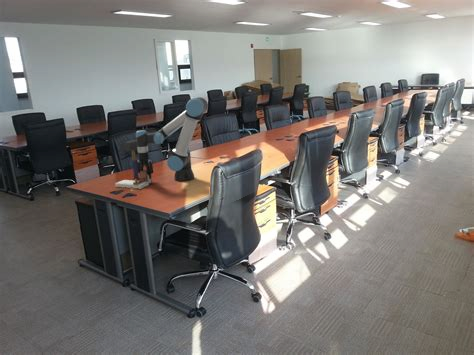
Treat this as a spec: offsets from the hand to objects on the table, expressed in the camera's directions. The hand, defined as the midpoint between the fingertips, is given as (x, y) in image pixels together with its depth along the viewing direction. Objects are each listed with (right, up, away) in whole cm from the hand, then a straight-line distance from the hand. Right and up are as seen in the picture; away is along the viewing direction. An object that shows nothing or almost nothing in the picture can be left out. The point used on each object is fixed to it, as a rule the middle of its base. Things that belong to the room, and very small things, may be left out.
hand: (146, 182), depth 296 cm
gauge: (-2, -2, -5) cm, 6 cm away
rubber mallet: (-12, +3, +16) cm, 20 cm away
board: (-9, -2, -5) cm, 11 cm away
